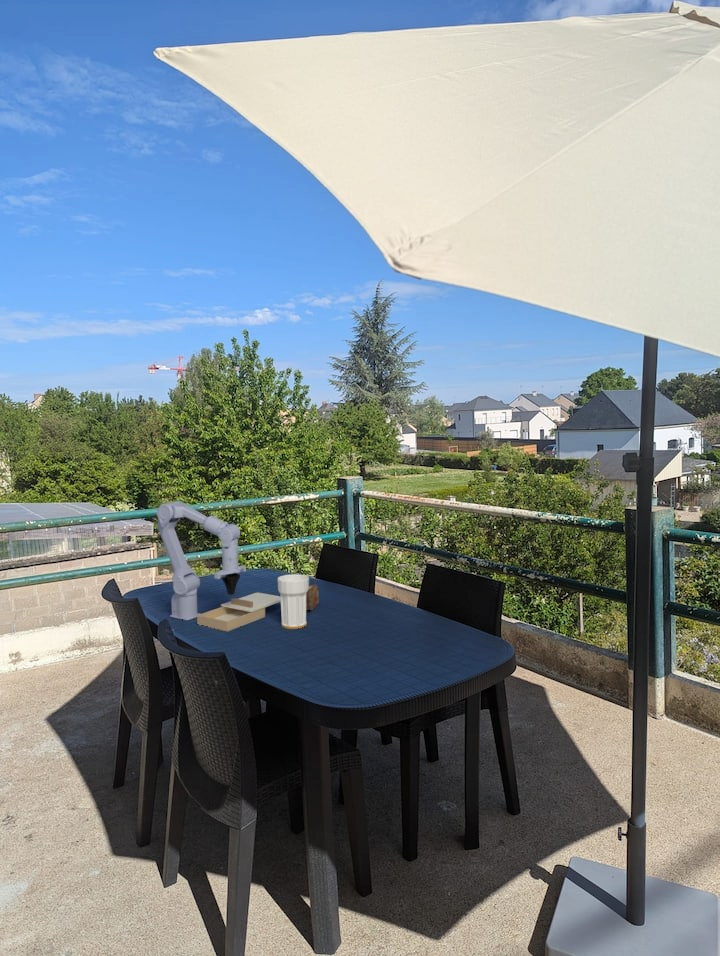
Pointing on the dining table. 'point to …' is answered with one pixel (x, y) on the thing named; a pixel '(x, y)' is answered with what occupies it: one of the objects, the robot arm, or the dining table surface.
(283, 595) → the cup
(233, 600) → the mailer lid
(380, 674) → the dining table surface
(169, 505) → the robot arm
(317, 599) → the tin
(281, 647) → the dining table surface
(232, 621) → the box
